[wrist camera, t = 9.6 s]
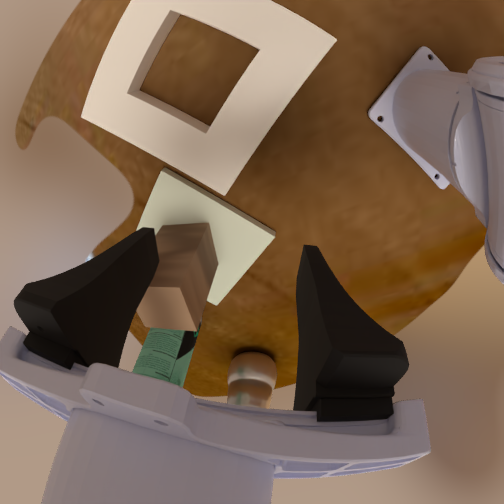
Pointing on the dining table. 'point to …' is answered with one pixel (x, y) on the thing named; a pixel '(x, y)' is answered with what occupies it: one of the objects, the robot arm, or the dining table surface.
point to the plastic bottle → (251, 380)
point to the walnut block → (180, 277)
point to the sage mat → (221, 224)
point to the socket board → (237, 104)
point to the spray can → (166, 354)
